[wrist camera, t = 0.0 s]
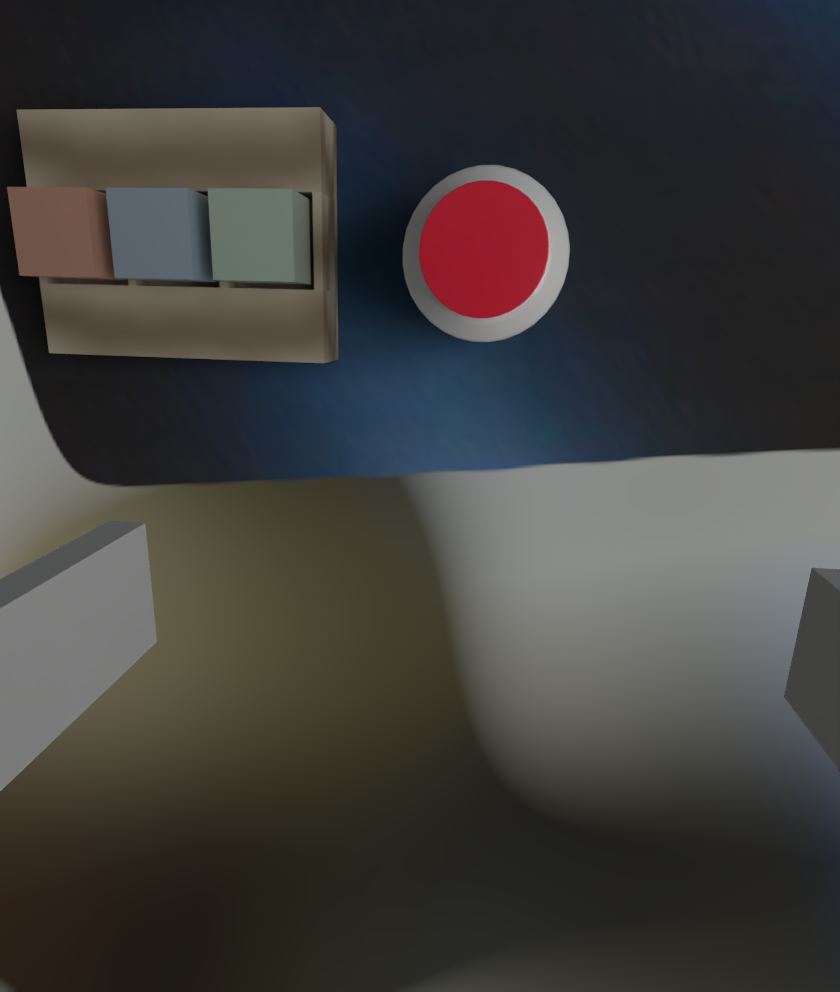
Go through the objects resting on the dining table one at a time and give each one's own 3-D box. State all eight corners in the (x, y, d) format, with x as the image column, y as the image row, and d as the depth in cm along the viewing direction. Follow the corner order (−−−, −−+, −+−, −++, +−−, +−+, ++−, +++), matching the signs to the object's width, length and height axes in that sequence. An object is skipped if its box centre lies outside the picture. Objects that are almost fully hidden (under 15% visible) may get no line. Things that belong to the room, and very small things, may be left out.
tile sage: (231, 198, 35) (207, 188, 32) (309, 199, 34) (291, 188, 32) (235, 282, 36) (213, 279, 33) (311, 284, 36) (294, 281, 33)
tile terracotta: (46, 197, 36) (7, 186, 33) (118, 197, 36) (85, 187, 33) (56, 278, 37) (19, 275, 34) (126, 280, 37) (95, 277, 34)
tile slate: (137, 197, 35) (105, 187, 33) (212, 198, 35) (186, 187, 32) (144, 280, 37) (114, 277, 34) (217, 282, 36) (193, 279, 33)
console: (57, 127, 38) (16, 109, 35) (336, 126, 36) (320, 107, 33) (84, 350, 41) (49, 353, 38) (338, 359, 40) (324, 363, 36)
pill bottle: (581, 280, 37) (614, 267, 26) (473, 363, 39) (464, 381, 28) (502, 166, 36) (504, 104, 25) (396, 257, 38) (356, 235, 27)
